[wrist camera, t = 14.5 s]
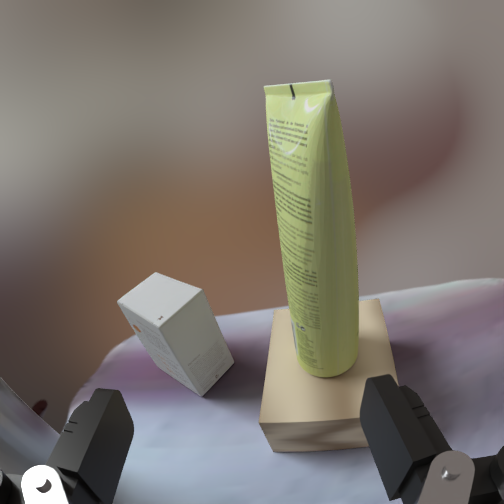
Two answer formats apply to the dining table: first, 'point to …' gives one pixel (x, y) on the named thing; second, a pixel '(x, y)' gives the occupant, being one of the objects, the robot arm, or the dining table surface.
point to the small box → (178, 331)
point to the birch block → (321, 388)
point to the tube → (315, 224)
